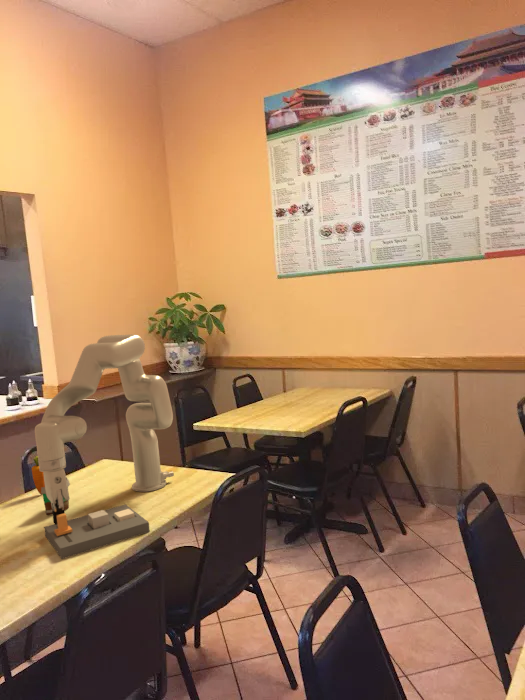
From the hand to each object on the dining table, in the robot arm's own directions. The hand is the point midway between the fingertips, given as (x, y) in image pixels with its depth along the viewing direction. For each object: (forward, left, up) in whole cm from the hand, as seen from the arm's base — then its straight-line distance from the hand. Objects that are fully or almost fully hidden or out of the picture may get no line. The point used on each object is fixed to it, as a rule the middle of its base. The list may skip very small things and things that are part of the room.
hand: (59, 522), depth 177 cm
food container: (-6, -26, -5) cm, 27 cm away
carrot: (-4, -48, -5) cm, 48 cm away
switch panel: (-10, +4, -5) cm, 12 cm away
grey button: (-11, +4, -3) cm, 12 cm away
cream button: (-19, +4, -5) cm, 20 cm away
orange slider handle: (0, +3, -2) cm, 4 cm away
